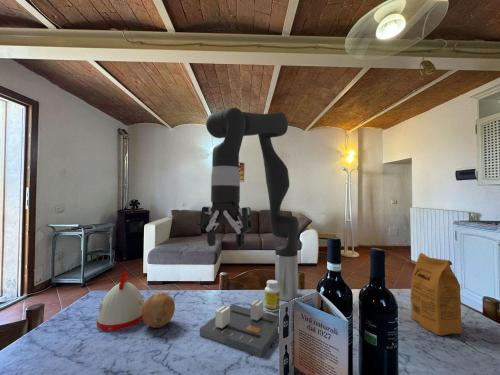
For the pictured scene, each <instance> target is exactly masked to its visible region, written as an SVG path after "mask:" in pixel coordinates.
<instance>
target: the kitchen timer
mask: <svg viewBox="0 0 500 375" xmlns="http://www.w3.org/2000/svg"><path fill="white" fill-rule="evenodd" d="M144 303H145V298H144V293H143V292H142V293H141V292H140V291H139V289H138V288H137V287H136V286H135V285H134V284H133V283H131V282H128V272H127V270H126V271H123V272H122V273H121V276H120V279H119V283H117V284H116V285H114V286H113V287H112V288H111V289H110V290H108V292H107V294H106V295H105V296H104V297H103V298H102V299H101V302H100V303H99V306H98V313H97V317H96V326H97V328H98V329H100V330H103V331H117V330H122V329H126V328H130V327H133V326H134V325H137V324H138V323H140V322H141V321H142V320H143V318H142V308H143V305H144Z"/></svg>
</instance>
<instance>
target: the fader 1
mask: <svg viewBox="0 0 500 375" xmlns="http://www.w3.org/2000/svg"><path fill="white" fill-rule="evenodd" d="M214 318H215V326H216V327H219V328H223V327H225V326H226V325H227V324H228V323H229V322H230V306H227V305H222V306H220V307H219V308H217V309H216V310H215V316H214Z"/></svg>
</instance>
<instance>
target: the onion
mask: <svg viewBox="0 0 500 375" xmlns="http://www.w3.org/2000/svg"><path fill="white" fill-rule="evenodd" d="M175 311H176V303H175V301H174V298H173V297H172V296H171V295H169V294H168V293H166V292H164V291H163V292H157V293H156V292H155V293H154V294H153V293H152V294H151V295H150V296H149V297H147V299H146V300H144V305H143V308H142V318H143V319H142V320H143V322H144V324H145V325H146V326H148V327H151V328H153V329H154V328H162V327H164V326H166V324H168V323H169V322H170V321H171V320H172V318H173V317H174V315H175Z"/></svg>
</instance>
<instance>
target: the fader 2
mask: <svg viewBox="0 0 500 375" xmlns="http://www.w3.org/2000/svg"><path fill="white" fill-rule="evenodd" d="M250 309H251V319H254V320H259V319H260V318H261V317H262V316H263V312H264V300H260V299H255V300H254V301H252V302H251V303H250Z"/></svg>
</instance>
